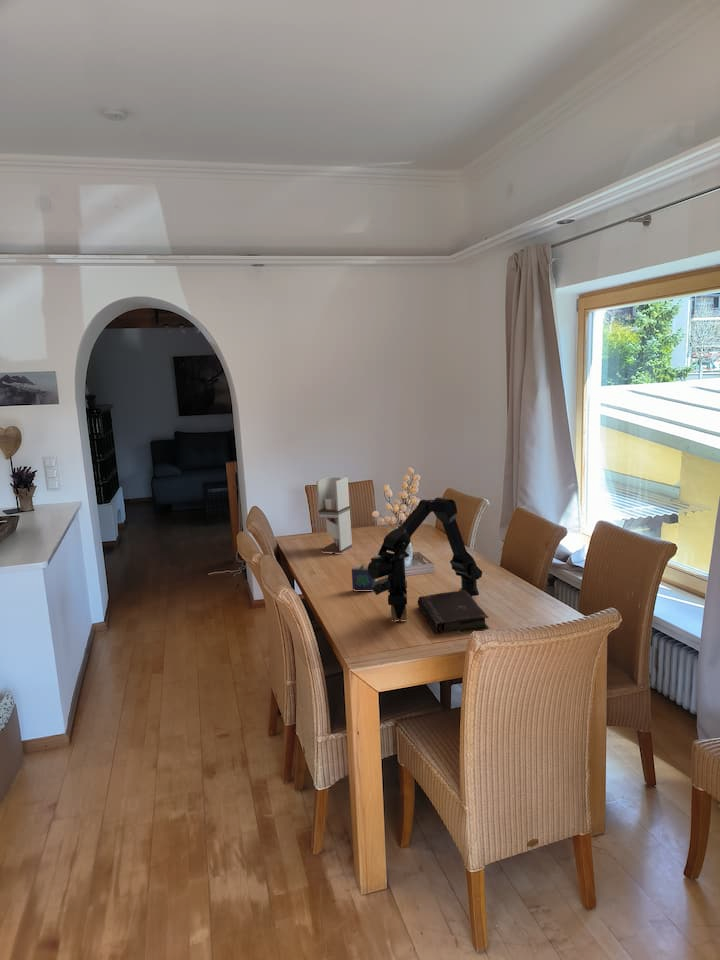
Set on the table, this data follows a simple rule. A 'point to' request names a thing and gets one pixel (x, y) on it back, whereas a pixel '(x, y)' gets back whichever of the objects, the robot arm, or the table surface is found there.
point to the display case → (335, 512)
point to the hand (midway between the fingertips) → (399, 615)
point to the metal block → (394, 617)
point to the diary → (453, 612)
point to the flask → (361, 578)
